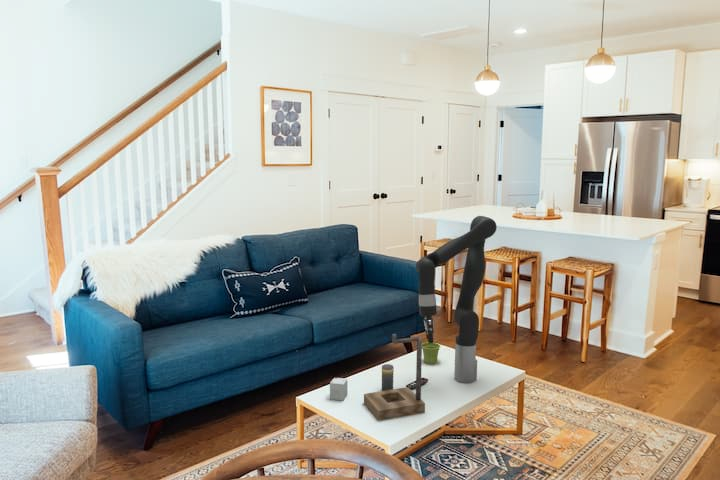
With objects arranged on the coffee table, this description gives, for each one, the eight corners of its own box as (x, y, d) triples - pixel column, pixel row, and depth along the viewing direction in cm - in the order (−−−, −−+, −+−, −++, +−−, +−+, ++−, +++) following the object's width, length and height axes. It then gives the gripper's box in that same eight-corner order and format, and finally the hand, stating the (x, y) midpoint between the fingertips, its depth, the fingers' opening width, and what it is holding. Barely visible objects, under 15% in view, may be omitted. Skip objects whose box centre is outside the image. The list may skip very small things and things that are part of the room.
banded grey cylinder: (390, 387, 243) (390, 363, 241) (395, 391, 238) (395, 367, 236) (379, 388, 241) (379, 365, 239) (384, 393, 236) (384, 369, 235)
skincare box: (343, 401, 229) (343, 384, 228) (329, 399, 231) (329, 382, 230) (347, 395, 235) (347, 378, 234) (334, 393, 237) (334, 377, 236)
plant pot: (434, 367, 266) (435, 350, 265) (417, 363, 271) (417, 346, 270) (443, 361, 274) (443, 344, 272) (426, 357, 279) (426, 340, 277)
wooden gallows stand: (407, 395, 234) (408, 322, 229) (424, 412, 220) (426, 334, 214) (363, 403, 227) (364, 327, 222) (378, 420, 213) (379, 340, 208)
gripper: (437, 306, 233) (440, 344, 234) (434, 301, 247) (436, 336, 248) (420, 307, 233) (422, 345, 234) (417, 302, 248) (420, 337, 248)
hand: (429, 340), depth 241 cm, fingers open, 8 cm apart
